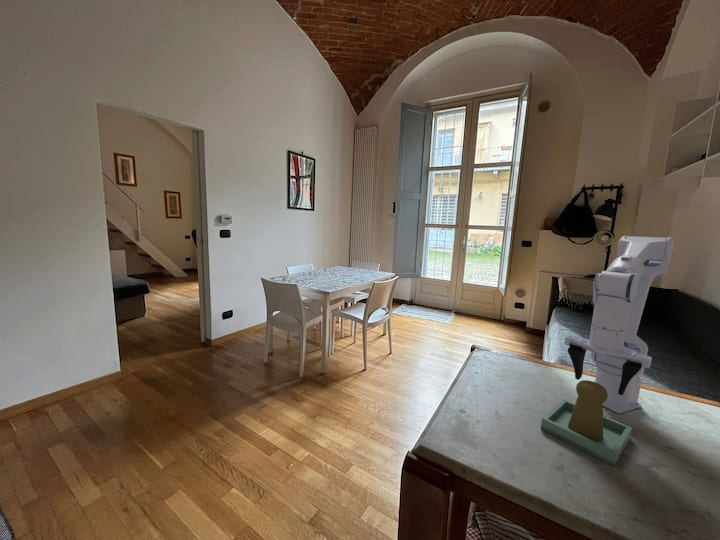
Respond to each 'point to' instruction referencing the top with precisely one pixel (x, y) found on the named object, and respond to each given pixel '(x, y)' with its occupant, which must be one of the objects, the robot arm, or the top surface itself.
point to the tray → (605, 450)
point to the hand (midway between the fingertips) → (598, 385)
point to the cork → (589, 410)
